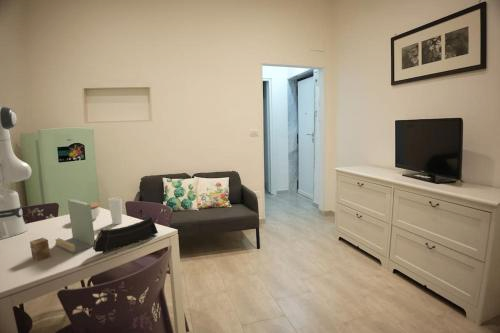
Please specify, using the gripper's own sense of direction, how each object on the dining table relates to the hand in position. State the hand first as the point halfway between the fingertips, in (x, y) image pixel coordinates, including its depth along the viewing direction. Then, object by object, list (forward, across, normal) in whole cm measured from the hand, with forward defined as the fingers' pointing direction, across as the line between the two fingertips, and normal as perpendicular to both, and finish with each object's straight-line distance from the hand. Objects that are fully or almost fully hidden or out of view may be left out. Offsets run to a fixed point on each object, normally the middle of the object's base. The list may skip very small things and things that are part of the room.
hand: (4, 204), depth 114 cm
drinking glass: (+56, +10, -18) cm, 60 cm away
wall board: (+36, -1, +2) cm, 36 cm away
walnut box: (+26, -1, +12) cm, 29 cm away
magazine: (+46, -23, -7) cm, 52 cm away
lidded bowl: (+53, +33, -15) cm, 64 cm away
